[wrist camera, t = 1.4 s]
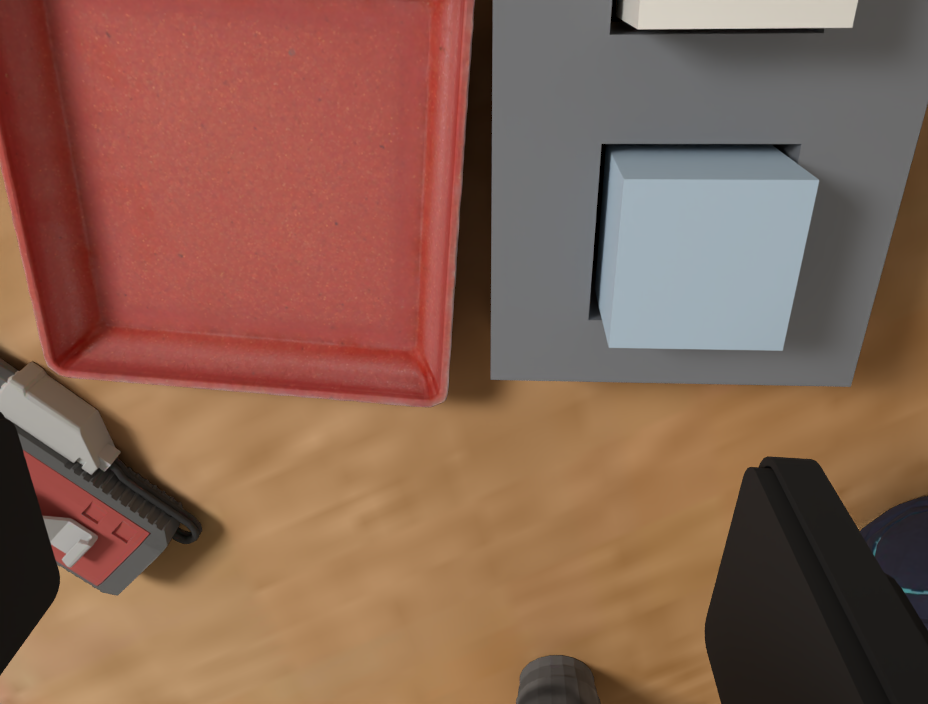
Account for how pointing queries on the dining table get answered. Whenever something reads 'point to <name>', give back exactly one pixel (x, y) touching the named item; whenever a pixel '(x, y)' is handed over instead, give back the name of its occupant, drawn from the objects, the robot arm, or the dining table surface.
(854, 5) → the white key
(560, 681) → the beverage cup
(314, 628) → the dining table surface
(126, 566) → the walkie-talkie
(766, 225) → the blue key
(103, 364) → the plant saucer
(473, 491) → the dining table surface
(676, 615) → the dining table surface
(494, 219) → the console
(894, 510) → the portable speaker
